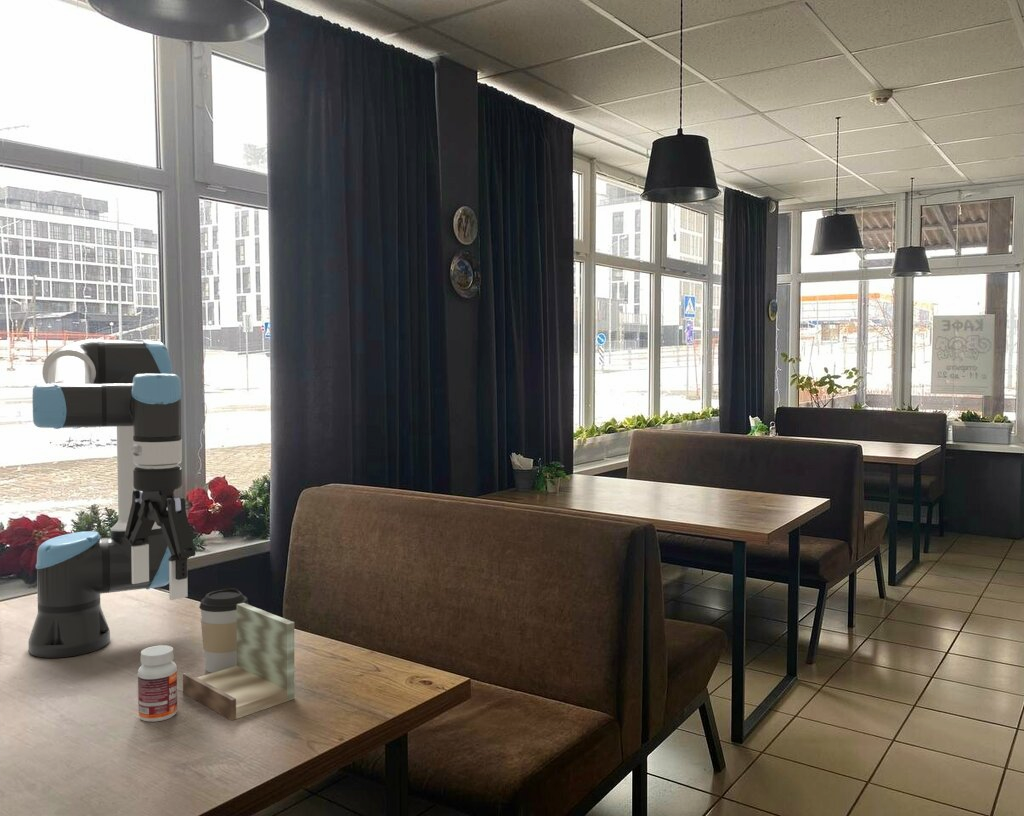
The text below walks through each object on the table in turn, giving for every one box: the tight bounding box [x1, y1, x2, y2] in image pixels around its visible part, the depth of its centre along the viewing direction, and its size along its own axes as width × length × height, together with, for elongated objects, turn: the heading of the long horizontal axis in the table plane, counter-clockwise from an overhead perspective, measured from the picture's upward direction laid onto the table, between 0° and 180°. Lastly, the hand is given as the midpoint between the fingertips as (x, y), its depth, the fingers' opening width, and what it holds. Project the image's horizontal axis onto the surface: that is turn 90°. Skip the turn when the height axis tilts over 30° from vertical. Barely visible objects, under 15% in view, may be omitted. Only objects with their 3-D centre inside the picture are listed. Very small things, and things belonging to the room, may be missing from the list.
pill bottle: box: [137, 644, 178, 723], centre depth 140 cm, size 6×6×11 cm
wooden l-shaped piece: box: [182, 603, 295, 721], centre depth 149 cm, size 17×12×14 cm
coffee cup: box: [199, 587, 249, 674], centre depth 162 cm, size 9×9×15 cm
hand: (158, 590), depth 140 cm, fingers open, 13 cm apart
